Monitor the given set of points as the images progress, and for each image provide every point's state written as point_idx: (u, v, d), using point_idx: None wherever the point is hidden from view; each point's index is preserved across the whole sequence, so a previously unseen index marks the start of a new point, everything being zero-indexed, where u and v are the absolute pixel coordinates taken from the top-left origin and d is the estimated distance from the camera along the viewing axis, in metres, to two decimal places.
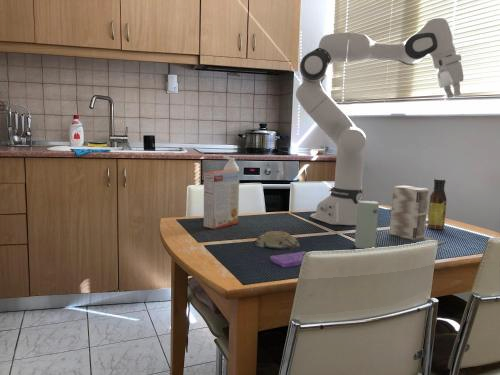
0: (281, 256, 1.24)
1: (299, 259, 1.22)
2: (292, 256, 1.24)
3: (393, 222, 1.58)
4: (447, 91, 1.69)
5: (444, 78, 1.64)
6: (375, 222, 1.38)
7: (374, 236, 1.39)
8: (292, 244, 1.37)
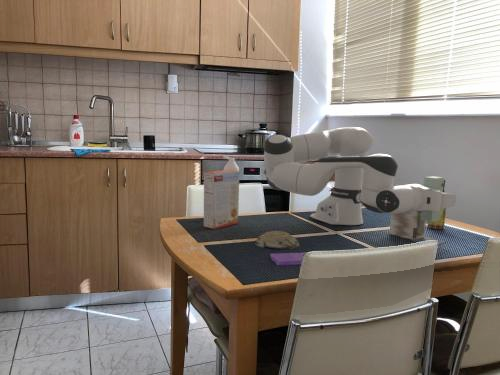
0: (281, 255, 1.25)
1: (297, 259, 1.22)
2: (292, 255, 1.25)
3: (393, 222, 1.58)
4: None
5: None
6: None
7: None
8: (292, 244, 1.37)
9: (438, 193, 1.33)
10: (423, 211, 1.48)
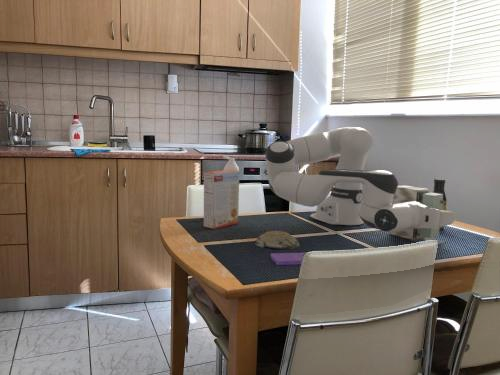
0: (281, 254, 1.26)
1: (296, 259, 1.22)
2: (292, 255, 1.25)
3: None
4: None
5: None
6: None
7: None
8: (292, 244, 1.37)
9: (436, 211, 1.34)
10: (422, 228, 1.49)
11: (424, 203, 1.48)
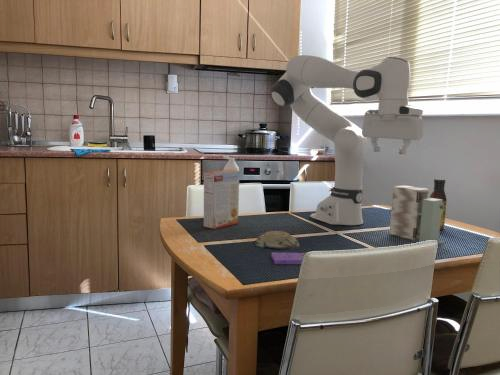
0: (282, 254, 1.26)
1: (295, 258, 1.22)
2: (293, 255, 1.25)
3: (393, 222, 1.58)
4: (374, 144, 1.41)
5: (388, 128, 1.36)
6: (440, 217, 1.49)
7: (439, 230, 1.50)
8: (292, 244, 1.37)
9: (421, 109, 1.31)
10: (422, 233, 1.49)
11: (424, 208, 1.48)
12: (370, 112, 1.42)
